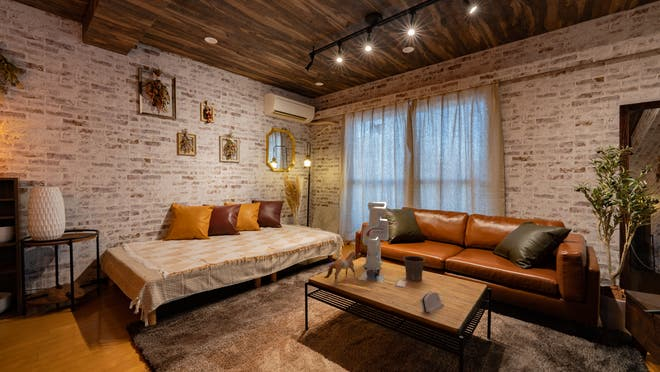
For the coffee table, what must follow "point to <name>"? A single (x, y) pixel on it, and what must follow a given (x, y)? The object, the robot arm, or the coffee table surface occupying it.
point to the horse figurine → (342, 266)
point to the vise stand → (377, 279)
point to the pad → (401, 283)
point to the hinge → (431, 302)
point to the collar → (371, 274)
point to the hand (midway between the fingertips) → (372, 276)
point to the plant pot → (414, 267)
